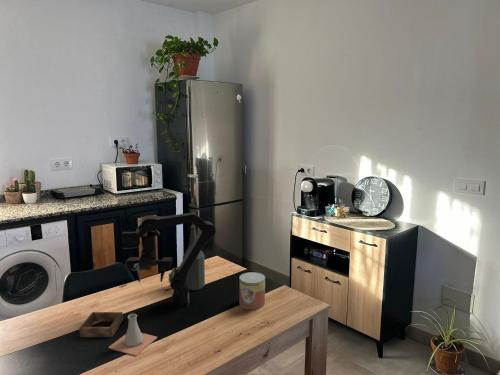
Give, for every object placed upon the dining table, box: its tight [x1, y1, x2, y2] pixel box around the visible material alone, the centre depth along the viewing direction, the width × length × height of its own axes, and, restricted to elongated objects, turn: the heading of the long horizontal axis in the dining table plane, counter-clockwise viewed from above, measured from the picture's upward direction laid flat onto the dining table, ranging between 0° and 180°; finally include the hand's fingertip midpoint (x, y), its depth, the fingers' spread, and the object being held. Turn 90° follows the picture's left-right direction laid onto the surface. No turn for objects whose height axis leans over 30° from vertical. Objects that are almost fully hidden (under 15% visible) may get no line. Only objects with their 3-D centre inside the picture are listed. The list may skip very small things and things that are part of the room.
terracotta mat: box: [107, 332, 158, 357], centre depth 137 cm, size 12×12×1 cm
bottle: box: [182, 225, 206, 291], centre depth 181 cm, size 10×10×30 cm
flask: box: [123, 313, 144, 347], centre depth 136 cm, size 7×7×10 cm
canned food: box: [238, 271, 266, 310], centre depth 166 cm, size 11×11×12 cm
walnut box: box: [78, 311, 124, 338], centre depth 146 cm, size 12×12×4 cm
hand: (150, 281), depth 160 cm, fingers open, 9 cm apart
